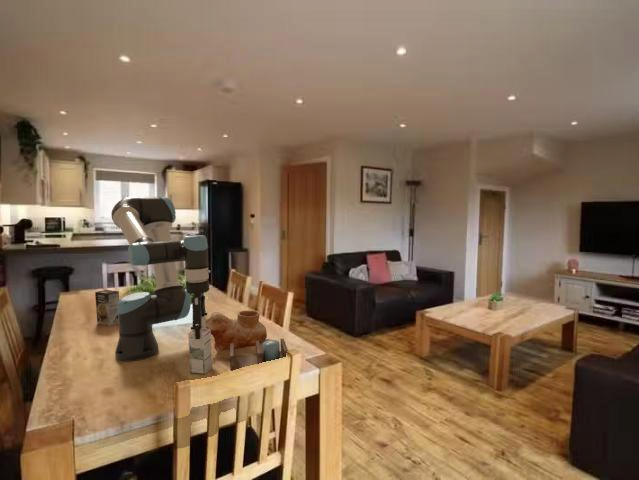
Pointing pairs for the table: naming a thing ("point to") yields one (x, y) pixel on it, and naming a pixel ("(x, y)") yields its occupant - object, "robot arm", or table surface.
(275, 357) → the grey-blue rounded cube
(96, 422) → the table surface
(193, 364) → the syrup box
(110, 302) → the coffee box
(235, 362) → the slot rack
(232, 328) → the ceramic vessel
